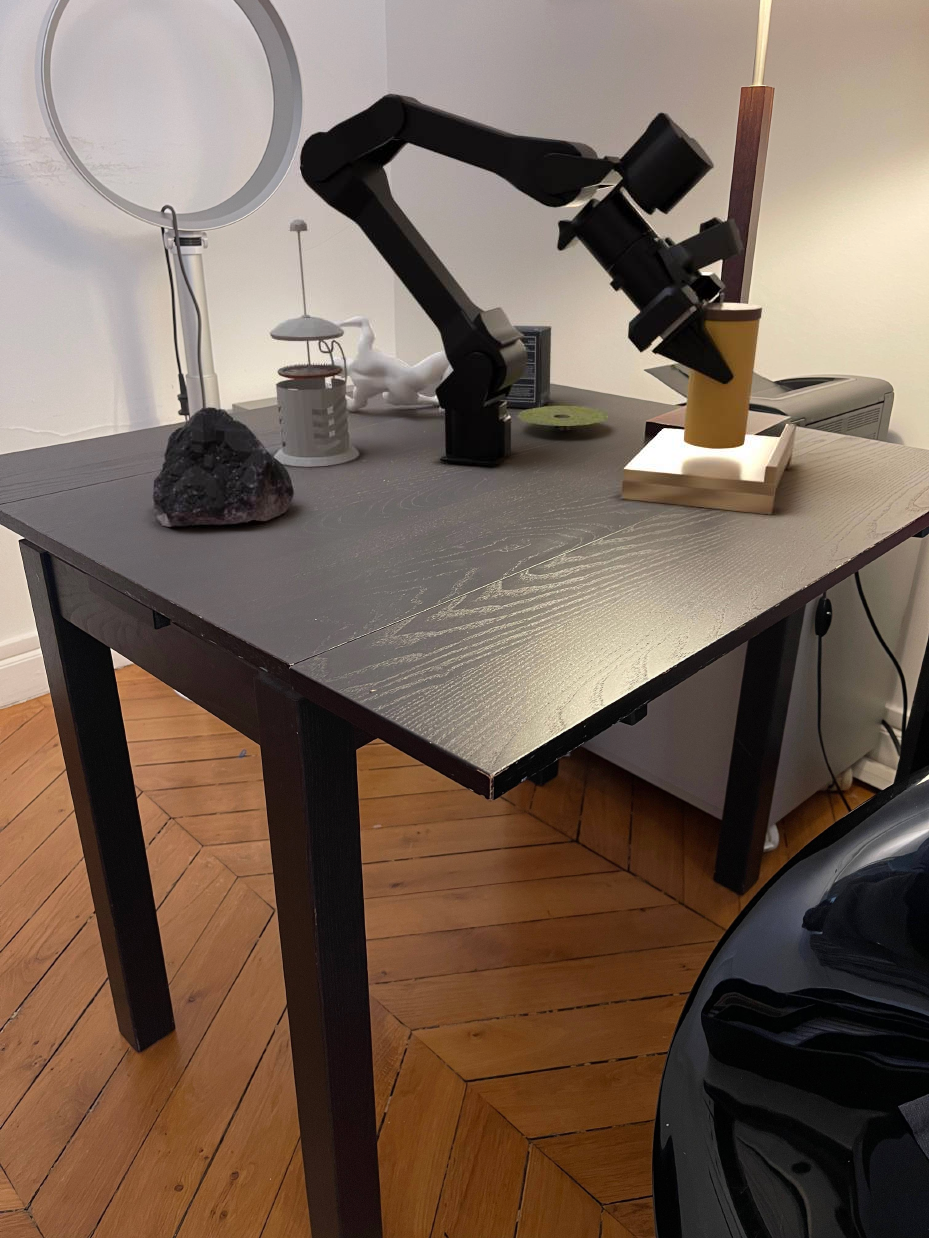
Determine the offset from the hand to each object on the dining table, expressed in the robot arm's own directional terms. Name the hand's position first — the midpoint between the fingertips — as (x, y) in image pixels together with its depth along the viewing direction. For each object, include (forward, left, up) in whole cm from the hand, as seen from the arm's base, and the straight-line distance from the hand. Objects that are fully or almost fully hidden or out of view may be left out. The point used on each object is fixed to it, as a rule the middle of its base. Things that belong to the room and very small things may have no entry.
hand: (735, 375), depth 90 cm
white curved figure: (-45, +21, -11) cm, 51 cm away
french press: (-45, -1, -11) cm, 47 cm away
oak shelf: (-1, 0, -11) cm, 11 cm away
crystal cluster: (-44, -23, -11) cm, 51 cm away
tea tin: (-1, 0, -7) cm, 7 cm away
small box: (-32, +32, -11) cm, 47 cm away
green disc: (-21, +18, -11) cm, 30 cm away
